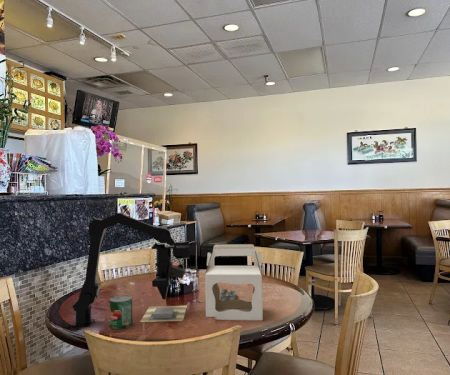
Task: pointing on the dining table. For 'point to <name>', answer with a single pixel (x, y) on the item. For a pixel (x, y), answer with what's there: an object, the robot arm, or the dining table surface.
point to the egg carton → (227, 295)
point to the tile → (163, 312)
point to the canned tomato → (121, 312)
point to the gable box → (233, 276)
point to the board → (177, 316)
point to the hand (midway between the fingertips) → (164, 299)
